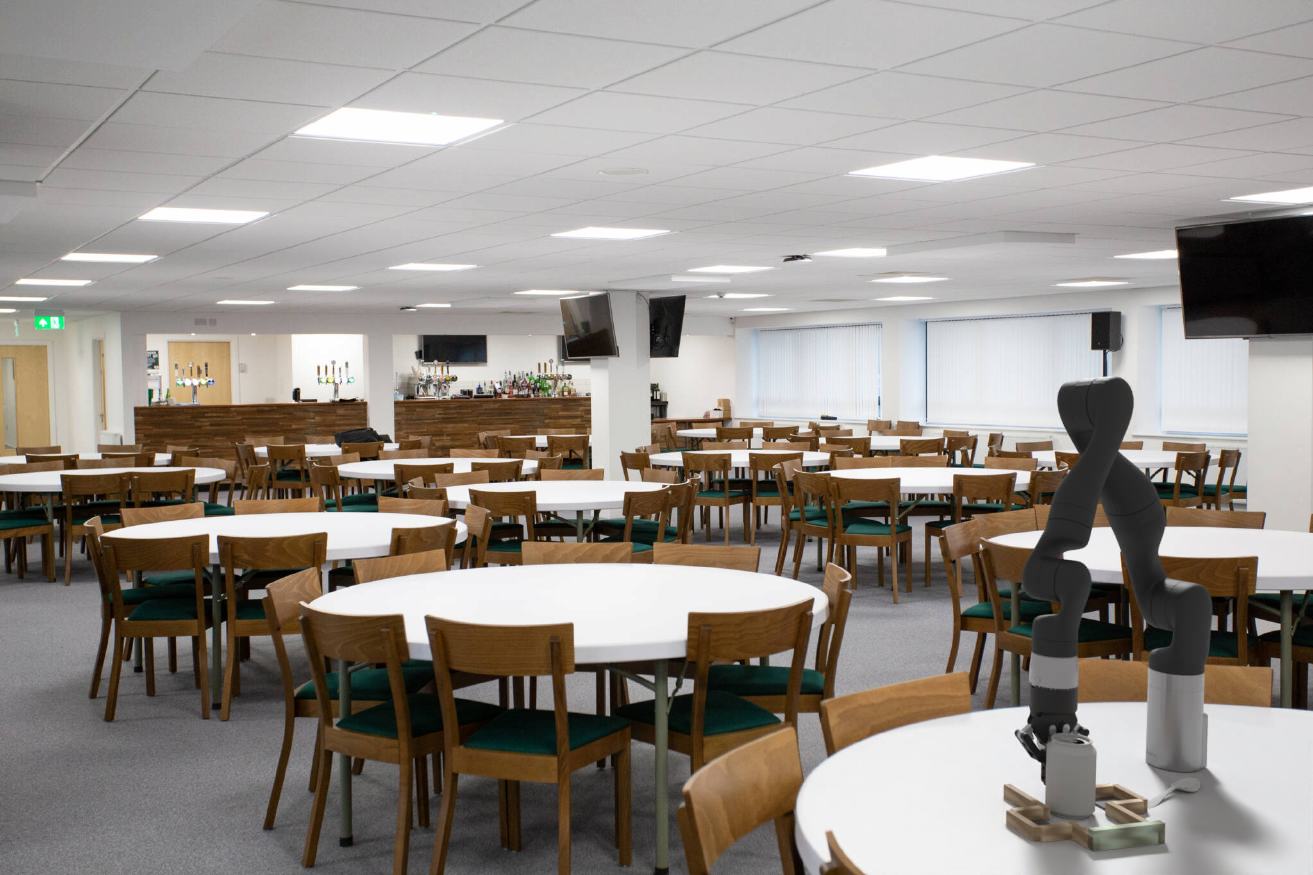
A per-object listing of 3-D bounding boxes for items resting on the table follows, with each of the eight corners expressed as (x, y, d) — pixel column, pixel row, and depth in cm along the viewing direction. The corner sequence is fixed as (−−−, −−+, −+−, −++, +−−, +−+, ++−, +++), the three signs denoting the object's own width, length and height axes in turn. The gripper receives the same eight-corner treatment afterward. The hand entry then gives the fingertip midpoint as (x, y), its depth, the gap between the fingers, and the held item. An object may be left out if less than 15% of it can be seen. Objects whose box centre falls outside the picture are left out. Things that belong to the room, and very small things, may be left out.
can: (1099, 822, 173) (1101, 746, 173) (1049, 818, 174) (1051, 743, 174) (1089, 805, 181) (1091, 731, 180) (1041, 801, 182) (1043, 728, 181)
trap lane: (1100, 786, 189) (1100, 769, 189) (1199, 839, 167) (1200, 819, 167) (970, 799, 183) (970, 781, 183) (1055, 855, 161) (1056, 835, 160)
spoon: (1206, 790, 190) (1207, 780, 189) (1146, 818, 176) (1147, 808, 176) (1182, 783, 193) (1182, 774, 193) (1121, 811, 180) (1121, 800, 180)
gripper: (1074, 672, 187) (1071, 774, 187) (1004, 677, 183) (1001, 781, 184) (1103, 684, 179) (1100, 790, 180) (1031, 689, 176) (1028, 797, 177)
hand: (1050, 785), depth 182 cm, fingers closed
